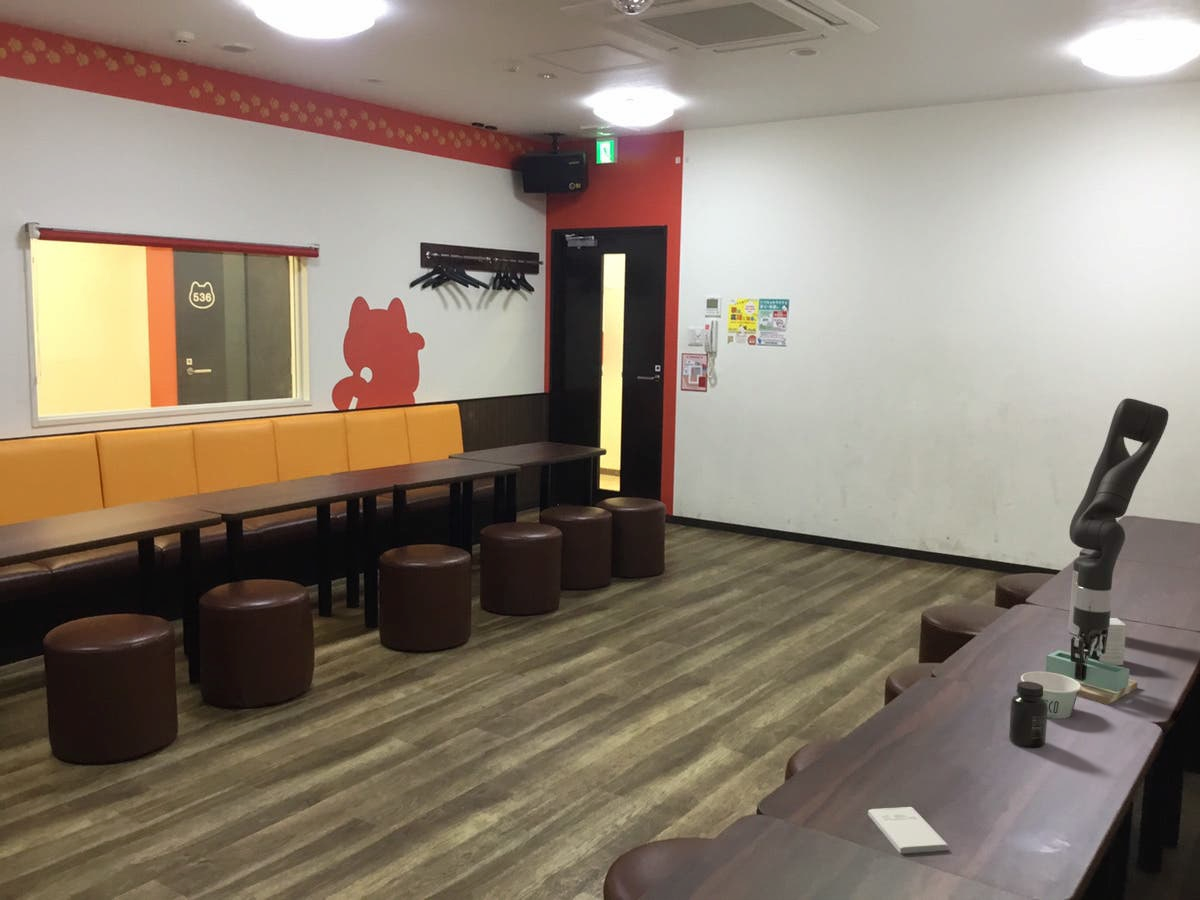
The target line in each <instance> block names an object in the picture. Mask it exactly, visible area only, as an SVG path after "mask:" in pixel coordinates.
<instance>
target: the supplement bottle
mask: <svg viewBox="0 0 1200 900" xmlns="http://www.w3.org/2000/svg"><path fill="white" fill-rule="evenodd" d="M1042 697H1043V686H1042V685H1040V684H1038V683H1035V682H1029V681H1022V680H1021V681H1019V682H1018V683H1017V685H1016V694H1015V695H1014V696H1012V698H1011V700H1010V710H1009V725H1008V727H1009V729H1008V739H1009V741H1010V742H1011V743H1012V744H1014V745H1015V746H1018V747H1021V748H1023V749H1040V748H1043V747H1044V746H1045V745H1046V742H1047V741H1046V740H1047V728H1048V727H1047V726H1048V725H1047V724H1048V723H1047V722H1048V717H1047V711H1048V705H1047V702H1046V701H1045V700H1044V699H1043V698H1042Z"/></svg>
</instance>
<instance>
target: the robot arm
mask: <svg viewBox="0 0 1200 900" xmlns="http://www.w3.org/2000/svg"><path fill="white" fill-rule="evenodd" d="M1169 416H1170V415H1169V411H1168V409H1167V408H1164V407H1162V406H1159V405H1156V404H1152V403H1149V402H1146V401H1142V400H1139V399H1136V398H1135V399H1134V398H1128V397H1127V398H1124V399H1122V400H1121V401H1120V403H1118V405H1117V406H1116V409H1115V411H1114V414H1113V416H1112V420H1111V422H1110V426H1109V429H1108V433H1107V435H1106V436H1107V437H1106V439H1105V442H1104V445H1103V448H1102V451H1101V454H1100V455H1099V457H1098V459H1097V462H1096V464H1095V466H1094V468H1093V471H1092V474H1091V476H1090V478H1089V479H1090V480H1089V482H1088V486H1087V489H1086V491H1085V494H1084V496H1083V498H1082V500H1081V501H1080V503H1079V506H1077V509H1076V510H1075V513H1074V514H1073V517H1072V518H1071V521H1070V522H1071V523H1070V525H1069V530H1068V531H1069V539H1070V541H1071V543H1072V544H1074V545H1076V547H1078V548H1081V549H1084V550H1085V549H1086V550H1090V551H1092V552H1091V553H1089V554H1087V555H1083V556H1080V557H1077V558H1075V559H1074V560H1073V568H1072V581H1071V594H1070V595H1071V596H1070V604H1069V605H1070V608H1069V618H1068V630H1067V631H1068V632H1069V633H1070V634H1072V635H1074V636H1076V637H1074V636H1072V637H1071V639H1070V653H1071V662H1075V663H1076V666H1075V678H1076V679H1078V680H1082V681H1083V680H1085V679H1086V668H1087V662H1088V658H1090V659H1094V660H1098V661H1099V660H1100V659H1099V658H1101V657H1102V654H1104V653H1105V650H1106V643H1107V636H1108V628H1109V625H1110V618H1111V612H1112V603H1113V602H1112V601H1113V600H1112V599H1113V598H1112V597H1113V596H1112V595H1113V594H1112V585H1113V576H1114V575H1113V574H1114V571H1115V566H1116V563H1117V561H1118V557H1119V555H1120V553H1121V551H1122V548H1123V546H1124V544H1125V540H1126V533H1125V530H1124V527H1123V526H1122V525H1121V524H1120V523H1118V521H1117V519H1119V518H1122V517H1123V516H1125V514H1126V512H1127V510H1128V507H1129V505H1130V502H1131V500H1132V497H1133V494H1134V492H1135V489H1136V487H1137V485H1138V483H1139V480H1140V478H1141V476H1142V475H1143V473H1144V471H1145V470H1146V468H1147V466H1148V464H1149V462H1150V461H1151V459H1152V457H1153V455H1154V453H1155V451H1156V448H1157V447H1158V445H1159V444H1160V442H1161V438H1162V436H1163V435H1164V432H1165V430H1166V428H1167V425H1168V420H1169ZM1125 438H1126V439H1129V440H1132V441H1136V442H1139V443H1141V444H1140V446H1139V448H1138V449H1137V450H1136V452H1134V453H1133V454H1132V455H1130V453H1129V450H1128V449H1127V446H1126V444H1125ZM1084 649H1085V650H1088V651H1084ZM1075 654H1076V655H1075ZM1084 655H1085V657H1084ZM1079 657H1080V658H1079Z"/></svg>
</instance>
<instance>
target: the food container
mask: <svg viewBox="0 0 1200 900" xmlns="http://www.w3.org/2000/svg"><path fill="white" fill-rule="evenodd" d="M1020 681H1021V682H1022V681H1029V682H1035V683H1038V684H1040V685H1042V686H1043V697H1042V698H1043V699H1044V700H1045V701H1046V702H1047V705H1048V711H1047V718H1049V717H1052V718H1051V719H1066V717H1067V718H1069V716H1070V717H1071V716H1072V714H1073V712H1074V707H1075V704H1076V701H1077V697H1078V696H1077V694H1078V691H1079V690H1080V689H1081V684H1080V683H1079V682H1078V681H1076V680H1074V679H1072V678H1070V677H1067V676H1064V675H1060V674H1056V673H1050V672H1046V671H1029V672H1026V673H1023V674H1022V675H1021V676H1020Z"/></svg>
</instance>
